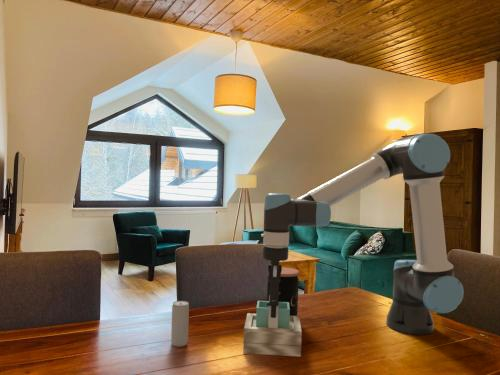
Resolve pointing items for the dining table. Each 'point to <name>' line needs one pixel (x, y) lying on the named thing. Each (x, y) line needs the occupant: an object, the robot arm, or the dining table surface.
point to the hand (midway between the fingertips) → (272, 322)
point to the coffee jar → (288, 289)
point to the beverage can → (180, 323)
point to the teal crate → (263, 313)
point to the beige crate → (272, 338)
